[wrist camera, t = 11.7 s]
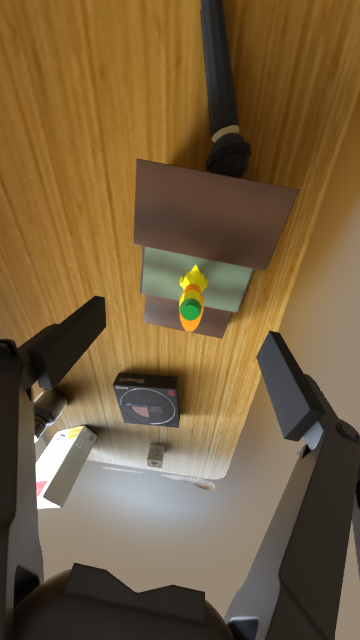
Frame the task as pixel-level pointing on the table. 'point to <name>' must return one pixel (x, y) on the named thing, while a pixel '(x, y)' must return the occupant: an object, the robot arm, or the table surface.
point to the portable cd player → (148, 399)
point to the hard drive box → (62, 465)
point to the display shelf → (203, 238)
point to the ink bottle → (47, 410)
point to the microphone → (221, 96)
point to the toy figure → (192, 298)
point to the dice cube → (155, 455)
